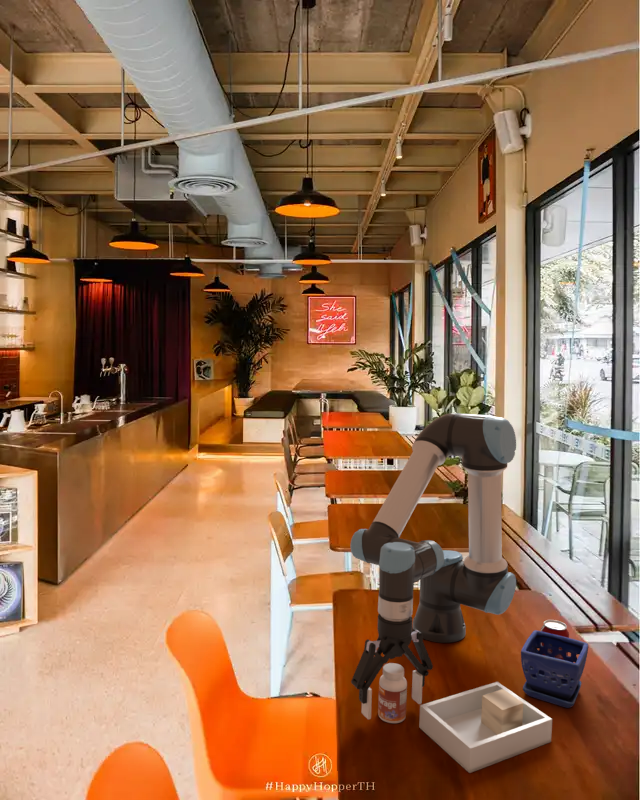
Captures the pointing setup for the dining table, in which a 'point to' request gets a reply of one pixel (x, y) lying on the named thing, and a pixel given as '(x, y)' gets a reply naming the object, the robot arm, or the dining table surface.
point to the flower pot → (553, 668)
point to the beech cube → (501, 711)
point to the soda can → (555, 632)
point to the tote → (481, 729)
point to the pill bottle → (392, 694)
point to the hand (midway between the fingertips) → (392, 708)
